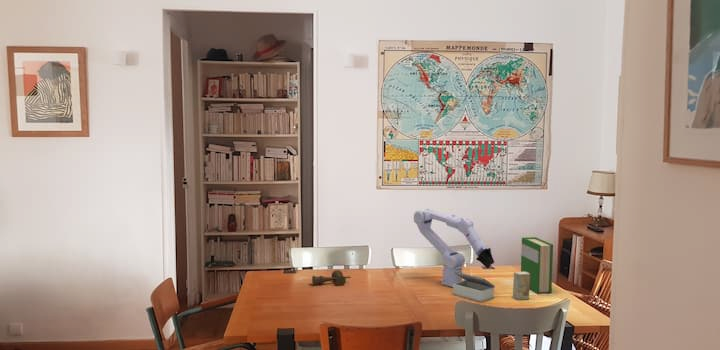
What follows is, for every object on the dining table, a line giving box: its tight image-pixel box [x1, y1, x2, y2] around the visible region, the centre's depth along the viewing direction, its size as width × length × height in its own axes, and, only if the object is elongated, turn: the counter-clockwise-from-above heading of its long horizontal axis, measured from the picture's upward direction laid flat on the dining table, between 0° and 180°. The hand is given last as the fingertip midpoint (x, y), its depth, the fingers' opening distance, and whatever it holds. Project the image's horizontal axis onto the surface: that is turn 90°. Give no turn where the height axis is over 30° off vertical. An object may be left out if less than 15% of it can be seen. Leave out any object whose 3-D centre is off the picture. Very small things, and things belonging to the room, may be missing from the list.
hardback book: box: [520, 236, 554, 295], centre depth 267 cm, size 18×7×24 cm, turn 9°
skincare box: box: [512, 271, 530, 301], centre depth 252 cm, size 6×4×12 cm
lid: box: [454, 272, 496, 288], centre depth 255 cm, size 17×10×1 cm, turn 43°
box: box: [452, 280, 495, 303], centre depth 255 cm, size 16×10×5 cm, turn 43°
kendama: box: [311, 269, 352, 287], centre depth 275 cm, size 6×10×20 cm
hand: (490, 265), depth 259 cm, fingers open, 7 cm apart
